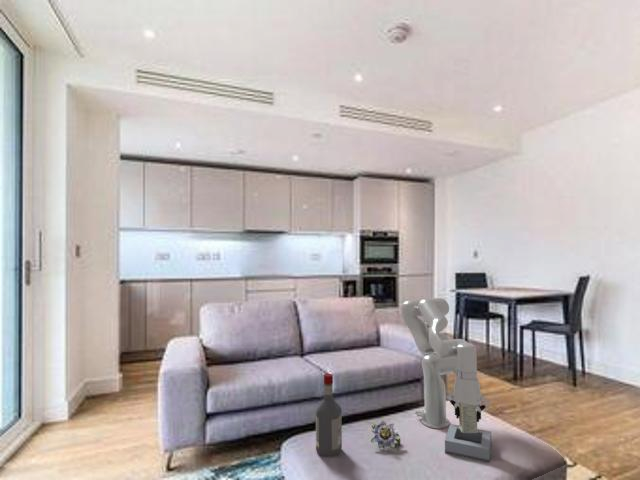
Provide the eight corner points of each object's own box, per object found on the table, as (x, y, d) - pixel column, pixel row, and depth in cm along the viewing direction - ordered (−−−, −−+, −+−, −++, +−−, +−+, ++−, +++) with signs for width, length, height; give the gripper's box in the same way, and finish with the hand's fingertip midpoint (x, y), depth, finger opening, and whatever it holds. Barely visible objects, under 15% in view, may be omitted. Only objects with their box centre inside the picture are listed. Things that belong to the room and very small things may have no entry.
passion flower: (385, 463, 154) (370, 442, 151) (378, 445, 164) (363, 425, 162) (408, 447, 154) (393, 426, 151) (399, 430, 164) (385, 410, 162)
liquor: (343, 447, 156) (342, 372, 157) (336, 458, 148) (335, 379, 149) (321, 443, 159) (321, 370, 160) (314, 454, 151) (313, 377, 152)
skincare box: (474, 428, 157) (474, 398, 157) (477, 433, 152) (477, 402, 153) (458, 428, 157) (457, 397, 158) (461, 433, 153) (460, 402, 153)
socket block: (444, 453, 151) (444, 440, 151) (450, 435, 165) (450, 423, 165) (489, 462, 144) (489, 449, 144) (491, 443, 158) (490, 431, 158)
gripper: (443, 374, 156) (444, 418, 156) (489, 380, 148) (491, 426, 148) (446, 369, 163) (446, 411, 162) (490, 374, 155) (491, 419, 155)
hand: (467, 418), depth 155 cm, fingers closed on skincare box, 7 cm apart
